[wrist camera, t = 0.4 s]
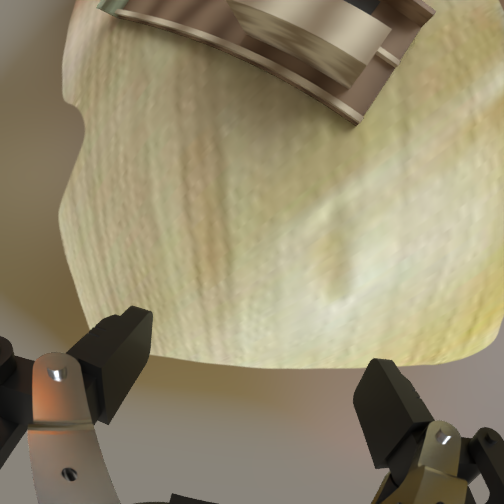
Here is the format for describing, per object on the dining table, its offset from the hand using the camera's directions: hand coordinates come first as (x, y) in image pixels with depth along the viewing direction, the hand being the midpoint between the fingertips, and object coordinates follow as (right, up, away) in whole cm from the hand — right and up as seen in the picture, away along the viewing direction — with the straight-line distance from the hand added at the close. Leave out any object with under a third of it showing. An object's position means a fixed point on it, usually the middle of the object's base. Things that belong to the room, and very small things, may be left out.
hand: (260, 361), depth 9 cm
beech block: (+6, +28, +16) cm, 33 cm away
